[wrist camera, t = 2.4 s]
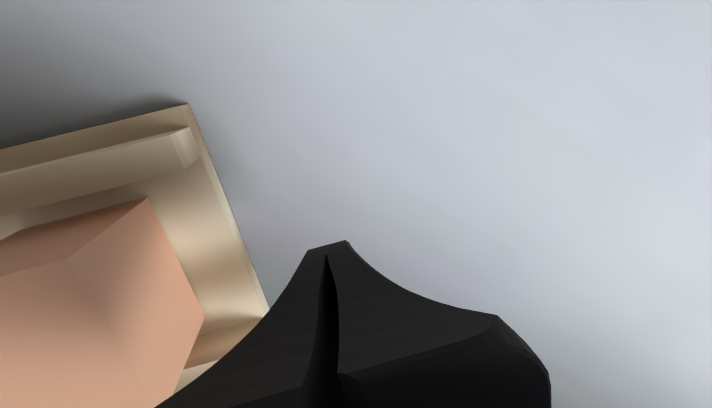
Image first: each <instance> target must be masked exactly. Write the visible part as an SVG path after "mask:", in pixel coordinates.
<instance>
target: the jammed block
mask: <svg viewBox="0 0 712 408" xmlns="http://www.w3.org/2000/svg"><path fill="white" fill-rule="evenodd" d="M204 318H205V315H204V313H203V311H202V309H201V306H200V304H199V302H198V300H197V298H196V296H195V294H194V292H193V290H192V288H191V286H190V284H189V282H188V279H187V277H186V275H185V273H184V271H183V269H182V267H181V265H180V263H179V261H178V259H177V257H176V255H175V253H174V250H173V248H172V246H171V244H170V242H169V240H168V238H167V236H166V234H165V232H164V230H163V228H162V226H161V223H160V221H159V219H158V217H157V215H156V213H155V211H154V209H153V207H152V205H151V203H150V201H149V199H148V197H147V198H143V199H139V200H135V201H131V202H127V203H124V204H120V205H116V206H112V207H108V208H104V209H100V210H96V211H92V212H88V213H84V214H80V215H77V216H73V217H69V218H65V219H61V220H57V221H53V222H49V223H45V224H41V225H37V226H33V227H30V228H26V229H22V230H19V231H17V232H15V233H13V234H12V235H10V236H8V237H6V238H4V239H2V240H0V408H154V407H156V406H157V405H159V404H160V403H162V402H163V401H165V400H166V399H168V398H169V397H170V396H172V395H173V393H174V390H175V388H176V385H177V383H178V381H179V378H180V376H181V373H182V371H183V369H184V366H185V364H186V362H187V359H188V357H189V354H190V352H191V350H192V347H193V345H194V342H195V340H196V338H197V335H198V333H199V330H200V328H201V326H202V323H203V321H204Z"/></svg>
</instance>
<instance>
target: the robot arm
mask: <svg viewBox="0 0 712 408" xmlns="http://www.w3.org/2000/svg"><path fill="white" fill-rule="evenodd" d="M154 408H551V384H550V379H549V374H548V371H547V370H546V368H545V367H544V365H543V363H542V362H541V360H540V359H539V358H538V357H537V355H536V354H535V353H534V352H533V350H532V349H531V348H530V347H529V346H528V345H527V343H526V342H525V341H524V340H523V339H522V338H521V337H520V336H519V335H518V334H517V333H516V332H515V331H514V330H512V329H511V328H510V327H509V326H508V325H507V324H506V323H505V322H504V321H503V320H502V319H501V318H500V317H499V316H497V315H493V314H488V313H483V312H477V311H472V310H466V309H461V308H457V307H453V306H450V305H446V304H443V303H439V302H436V301H433V300H430V299H427V298H425V297H422V296H420V295H418V294H415V293H413V292H410V291H408V290H406V289H404V288H402V287H401V286H399V285H397V284H395V283H394V282H392V281H390V280H389V279H387V278H386V277H384V276H383V275H382V274H380V273H379V272H378V271H376V270H375V269H374V268H372V267H371V266H370V265H369V264H368V263H367V262H366V261H364V260H363V259H362V258H361V257H360V256H359V255H358V254H357V253H356V252H355V250H354V249H353V248H352V247H351V245H350V244H349V242H347V241H346V240H344V241H340V242H336V243H333V244H329V245H325V246H321V247H318V248H314V249H310V250H308V251H307V252H306V254H305V256H304V257H303V259H302V261H301V263H300V265H299V266H298V268H297V270H296V272H295V273H294V275H293V277H292V278H291V280H290V282H289V283H288V285H287V286H286V288H285V289H284V291H283V292H282V294H281V295H280V296H279V298H278V299H277V301H276V302H275V303H274V305H273V306H272V307H271V309H270V310H269V311H268V312H267V313H266V315H265V316H264V317H263V318H262V319H261V320H260V321H259V322H258V324H257V325H256V326H255V327H254V328H253V329H252V330H251V331H250V332H249V333H248V334H247V335H246V336H245V337H244V338H243V339H242V340H241V341H240V342H238V343H237V344H236V345H235V346H234V347H233V348H232V349H231V350H230V351H229V352H228V353H227V354H226V355H224V356H223V357H222V358H221V359H220V360H219V361H217V362H216V363H215V364H214V365H213V366H211V367H210V368H209V369H207V370H206V371H205V372H204V373H202V374H201V375H200V376H199V377H197V378H196V379H195V380H193V381H192V382H191V383H189V384H188V385H186V386H185V387H184V388H182V389H181V390H179V391H178V392H176V393H175V394H173V395H172V396H170V397H169V398H168V399H166V400H165V401H163V402H162V403H160V404H159V405H157V406H156V407H154Z"/></svg>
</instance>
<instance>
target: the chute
mask: <svg viewBox="0 0 712 408" xmlns="http://www.w3.org/2000/svg"><path fill="white" fill-rule="evenodd" d="M147 197H148V199H149V201H150V203H151V205H152V207H153V209H154V211H155V213H156V215H157V217H158V219H159V221H160V223H161V226H162V228H163V230H164V232H165V234H166V236H167V238H168V240H169V242H170V244H171V246H172V248H173V250H174V253H175V255H176V257H177V259H178V261H179V263H180V265H181V267H182V269H183V271H184V273H185V275H186V277H187V279H188V282H189V284H190V286H191V288H192V290H193V292H194V294H195V296H196V298H197V300H198V302H199V304H200V306H201V309H202V311H203V313H204V315H205V318H204V321H203V323H202V326H201V328H200V330H199V333H198V335H197V338H196V340H195V342H194V345H193V347H192V350H191V352H190V354H189V357H188V359H187V362H186V364H185V366H184V369H183V371H182V373H181V376H180V378H179V381H178V383H177V385H176V388H175V390H174V393H173V394H175V393H176V392H178V391H179V390H181V389H182V388H184V387H185V386H186V385H188V384H189V383H191V382H192V381H193V380H195V379H196V378H197V377H199V376H200V375H201V374H202V373H204V372H205V371H206V370H207V369H209V368H210V367H211V366H213V365H214V364H215V363H216V362H217V361H219V360H220V359H221V358H222V357H223V356H224V355H226V354H227V353H228V352H229V351H230V350H231V349H232V348H233V347H234V346H235V345H236V344H237V343H238V342H240V341H241V340H242V339H243V338H244V337H245V336H246V335H247V334H248V333H249V332H250V331H251V330H252V329H253V328H254V327H255V326H256V325H257V324H258V322H259V321H260V320H261V319H262V318H263V317H264V316H265V315H266V313H267V312H268V311H269V310H270V309H269V306H268V304H267V301H266V299H265V296H264V294H263V291H262V288H261V286H260V283H259V281H258V278H257V276H256V273H255V271H254V268H253V266H252V263H251V260H250V258H249V255H248V253H247V250H246V248H245V245H244V243H243V240H242V237H241V235H240V232H239V230H238V227H237V225H236V222H235V220H234V217H233V215H232V212H231V209H230V207H229V204H228V202H227V199H226V197H225V194H224V192H223V189H222V186H221V184H220V181H219V179H218V176H217V174H216V171H215V169H214V166H213V164H212V161H211V158H210V156H209V153H208V151H207V148H206V146H205V143H204V141H203V138H202V135H201V133H200V130H199V128H198V125H197V123H196V120H195V118H194V115H193V113H192V110H191V107H190V105H189V104H185V105H180V106H176V107H172V108H168V109H164V110H160V111H156V112H152V113H148V114H143V115H139V116H135V117H131V118H127V119H123V120H119V121H115V122H111V123H107V124H102V125H98V126H94V127H90V128H86V129H82V130H78V131H74V132H70V133H66V134H61V135H57V136H53V137H49V138H45V139H41V140H37V141H33V142H29V143H25V144H20V145H16V146H12V147H8V148H4V149H0V240H2V239H4V238H6V237H8V236H10V235H12V234H13V233H15V232H17V231H19V230H22V229H26V228H30V227H33V226H37V225H41V224H45V223H49V222H53V221H57V220H61V219H65V218H69V217H73V216H77V215H80V214H84V213H88V212H92V211H96V210H100V209H104V208H108V207H112V206H116V205H120V204H124V203H127V202H131V201H135V200H139V199H143V198H147Z"/></svg>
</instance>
